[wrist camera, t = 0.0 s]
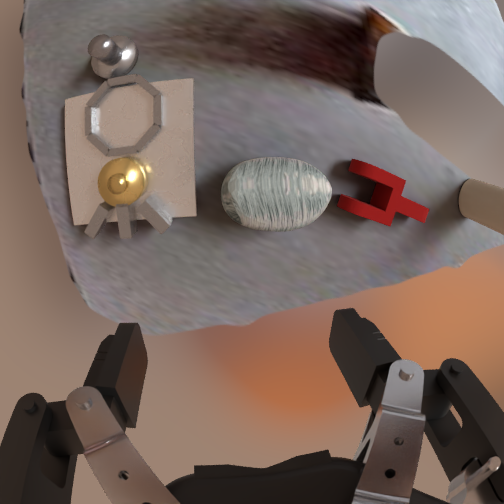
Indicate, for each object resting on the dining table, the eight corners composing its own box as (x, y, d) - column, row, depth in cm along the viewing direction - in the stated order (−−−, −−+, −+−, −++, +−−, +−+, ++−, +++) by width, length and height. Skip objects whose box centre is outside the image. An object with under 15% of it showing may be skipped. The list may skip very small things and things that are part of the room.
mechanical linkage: (331, 203, 41) (345, 211, 36) (346, 157, 38) (362, 160, 34) (407, 229, 44) (424, 239, 40) (420, 191, 42) (439, 198, 37)
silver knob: (97, 44, 27) (78, 30, 21) (139, 35, 28) (126, 17, 21) (94, 83, 29) (73, 74, 23) (137, 75, 30) (122, 63, 24)
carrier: (71, 93, 29) (50, 87, 23) (194, 73, 31) (191, 61, 26) (81, 231, 37) (63, 245, 31) (197, 222, 39) (195, 237, 33)
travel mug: (455, 217, 45) (523, 251, 28) (459, 177, 42) (532, 201, 25) (477, 216, 45) (539, 247, 29) (481, 179, 42) (548, 203, 26)
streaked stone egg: (212, 237, 37) (239, 222, 27) (210, 168, 38) (235, 134, 28) (303, 238, 42) (347, 226, 33) (297, 176, 43) (337, 152, 34)
